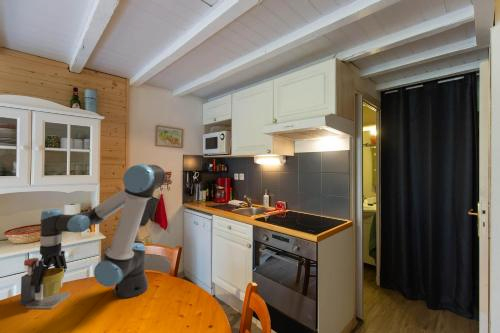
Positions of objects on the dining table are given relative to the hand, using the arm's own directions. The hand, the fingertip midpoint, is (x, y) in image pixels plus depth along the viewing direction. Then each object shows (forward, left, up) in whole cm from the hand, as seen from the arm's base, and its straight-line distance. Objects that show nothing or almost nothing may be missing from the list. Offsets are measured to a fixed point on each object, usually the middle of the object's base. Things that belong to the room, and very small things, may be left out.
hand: (49, 292), depth 108 cm
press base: (+3, 0, -4) cm, 5 cm away
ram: (+8, 0, +2) cm, 9 cm away
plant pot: (0, 0, 0) cm, 0 cm away
